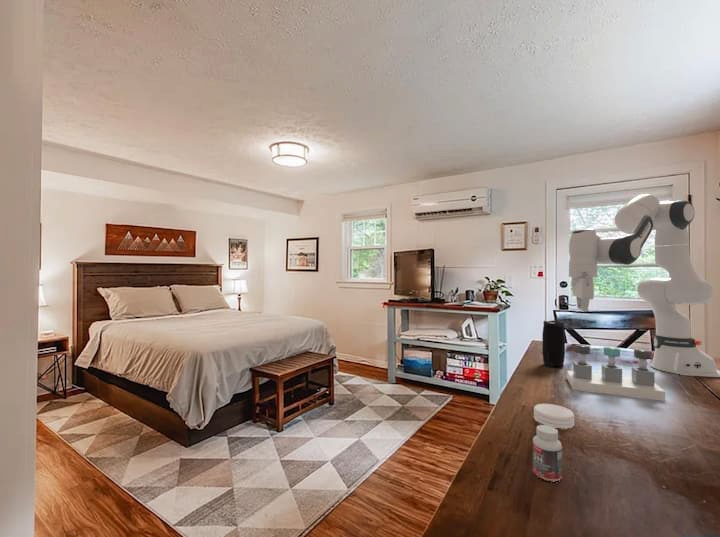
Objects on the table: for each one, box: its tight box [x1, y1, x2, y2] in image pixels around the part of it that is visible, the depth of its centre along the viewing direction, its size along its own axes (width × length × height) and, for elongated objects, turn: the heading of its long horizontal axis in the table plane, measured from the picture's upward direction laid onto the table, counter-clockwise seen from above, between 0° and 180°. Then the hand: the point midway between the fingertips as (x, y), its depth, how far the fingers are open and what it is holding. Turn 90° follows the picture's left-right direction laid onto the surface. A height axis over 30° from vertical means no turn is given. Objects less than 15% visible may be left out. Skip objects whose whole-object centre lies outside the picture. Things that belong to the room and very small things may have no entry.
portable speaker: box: [541, 320, 566, 368], centre depth 155 cm, size 9×9×20 cm
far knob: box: [574, 344, 591, 364], centre depth 129 cm, size 5×5×6 cm
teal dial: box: [603, 346, 621, 367], centre depth 126 cm, size 5×5×7 cm
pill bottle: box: [532, 424, 563, 481], centre depth 73 cm, size 5×5×10 cm
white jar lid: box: [533, 403, 575, 430], centre depth 99 cm, size 10×10×4 cm
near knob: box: [633, 348, 653, 370], centre depth 122 cm, size 5×5×6 cm
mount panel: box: [566, 360, 666, 402], centre depth 126 cm, size 26×14×8 cm, turn 67°
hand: (582, 310), depth 130 cm, fingers open, 8 cm apart
